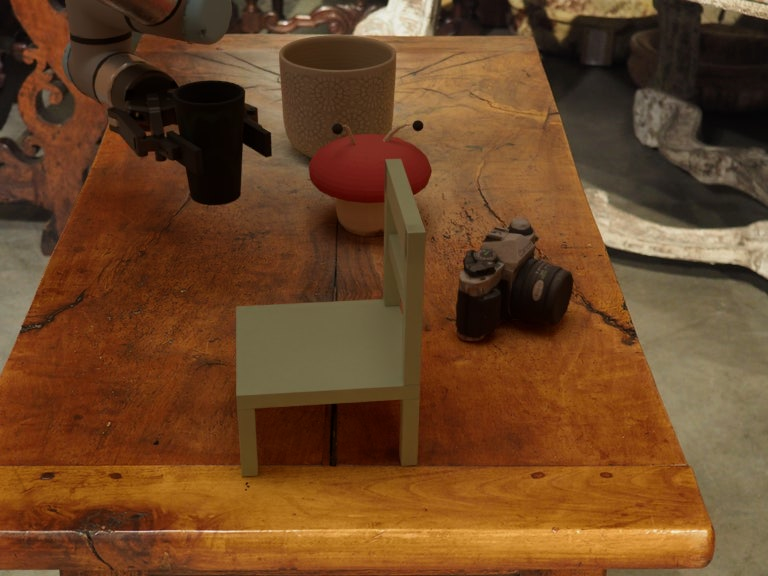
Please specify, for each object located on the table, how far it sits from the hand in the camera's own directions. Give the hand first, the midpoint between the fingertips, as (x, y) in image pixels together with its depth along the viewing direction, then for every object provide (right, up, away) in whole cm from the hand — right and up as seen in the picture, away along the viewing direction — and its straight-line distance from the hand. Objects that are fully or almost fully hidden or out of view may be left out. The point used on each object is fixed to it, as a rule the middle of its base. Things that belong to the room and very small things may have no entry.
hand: (234, 153), depth 113 cm
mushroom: (+14, -6, +28) cm, 32 cm away
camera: (+31, -18, +8) cm, 36 cm away
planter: (+9, +6, +49) cm, 50 cm away
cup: (-3, -4, +7) cm, 8 cm away
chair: (+10, -27, -9) cm, 30 cm away
